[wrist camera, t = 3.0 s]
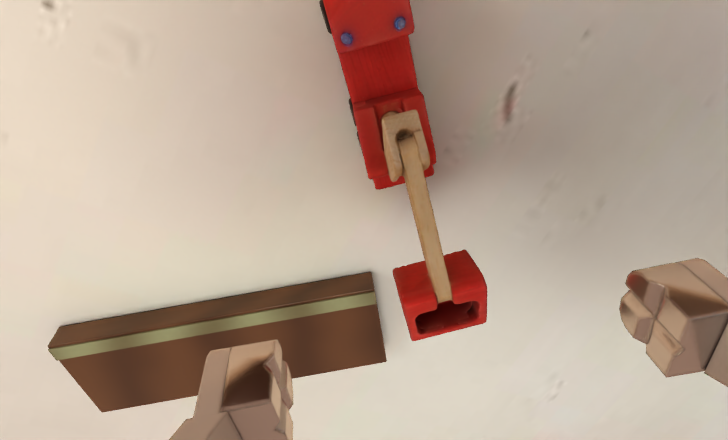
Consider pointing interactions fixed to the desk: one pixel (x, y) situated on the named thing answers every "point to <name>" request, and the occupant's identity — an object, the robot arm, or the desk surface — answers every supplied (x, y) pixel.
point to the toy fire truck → (403, 157)
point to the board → (221, 339)
